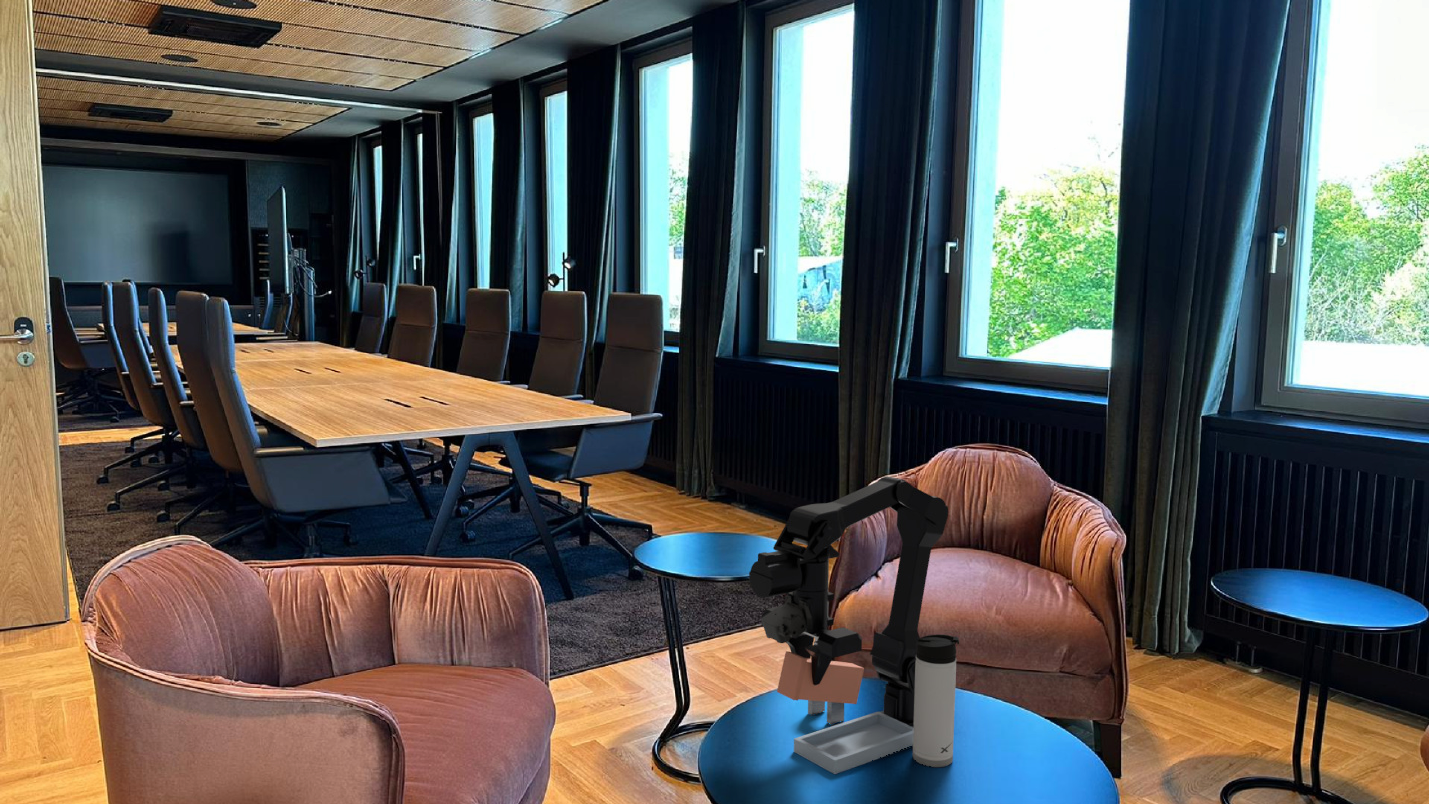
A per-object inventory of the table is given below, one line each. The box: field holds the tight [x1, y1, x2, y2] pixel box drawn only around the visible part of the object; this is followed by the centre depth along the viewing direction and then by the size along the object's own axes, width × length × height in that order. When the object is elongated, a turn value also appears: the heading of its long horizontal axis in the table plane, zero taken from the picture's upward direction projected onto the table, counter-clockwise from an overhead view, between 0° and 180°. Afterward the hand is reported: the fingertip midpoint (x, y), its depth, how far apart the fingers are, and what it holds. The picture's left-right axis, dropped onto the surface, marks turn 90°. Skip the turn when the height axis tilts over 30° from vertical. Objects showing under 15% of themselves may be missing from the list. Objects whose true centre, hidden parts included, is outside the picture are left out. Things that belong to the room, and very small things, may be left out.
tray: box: [793, 711, 914, 775], centre depth 166 cm, size 19×10×2 cm, turn 126°
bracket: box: [807, 700, 845, 726], centre depth 178 cm, size 3×6×8 cm, turn 36°
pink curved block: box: [776, 650, 865, 705], centre depth 166 cm, size 14×4×7 cm, turn 124°
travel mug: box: [912, 633, 960, 768], centre depth 161 cm, size 6×7×20 cm
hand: (809, 681), depth 165 cm, fingers closed on pink curved block, 3 cm apart
